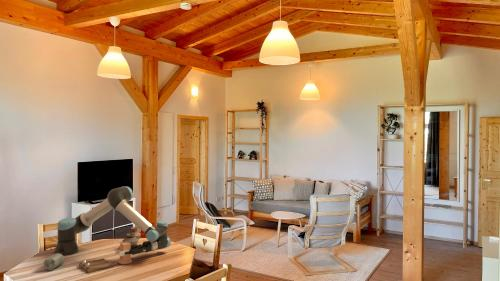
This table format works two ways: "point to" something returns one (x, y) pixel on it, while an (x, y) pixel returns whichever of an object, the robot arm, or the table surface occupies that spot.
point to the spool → (53, 261)
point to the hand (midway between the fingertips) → (117, 253)
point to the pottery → (132, 236)
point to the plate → (97, 265)
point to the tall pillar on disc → (125, 258)
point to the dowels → (85, 264)
